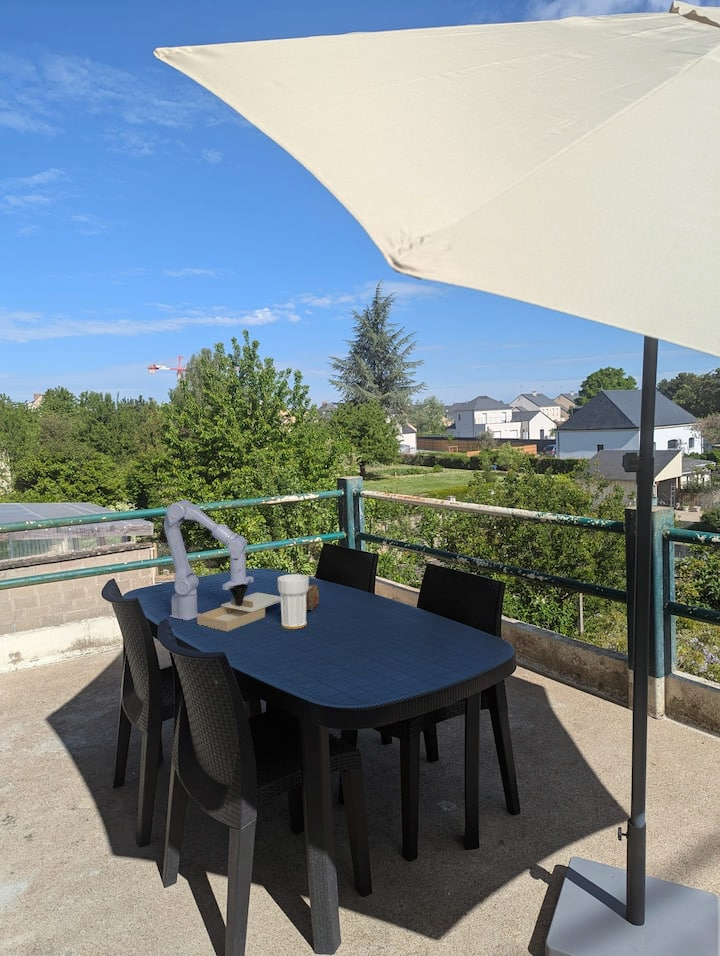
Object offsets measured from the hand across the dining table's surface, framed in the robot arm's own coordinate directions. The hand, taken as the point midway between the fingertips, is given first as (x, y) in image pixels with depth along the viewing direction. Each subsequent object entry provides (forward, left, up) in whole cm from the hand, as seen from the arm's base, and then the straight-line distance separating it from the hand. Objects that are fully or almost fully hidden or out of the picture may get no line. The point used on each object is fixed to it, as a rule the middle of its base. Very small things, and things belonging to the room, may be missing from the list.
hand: (239, 604), depth 246 cm
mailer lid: (0, +9, -1) cm, 9 cm away
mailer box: (0, -4, -5) cm, 6 cm away
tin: (+15, +25, -5) cm, 30 cm away
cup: (+23, +4, -5) cm, 24 cm away
